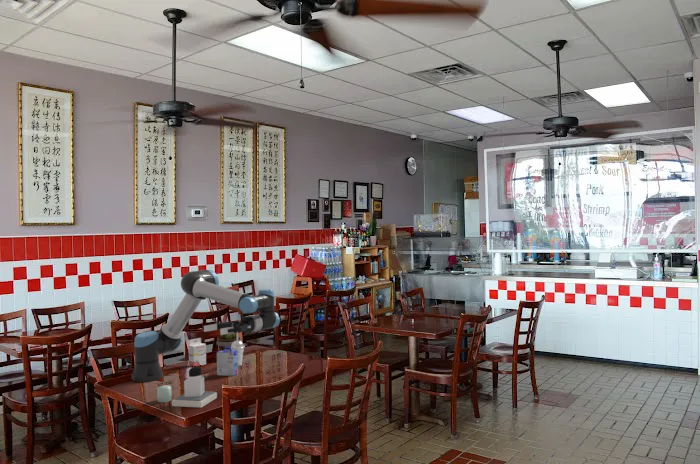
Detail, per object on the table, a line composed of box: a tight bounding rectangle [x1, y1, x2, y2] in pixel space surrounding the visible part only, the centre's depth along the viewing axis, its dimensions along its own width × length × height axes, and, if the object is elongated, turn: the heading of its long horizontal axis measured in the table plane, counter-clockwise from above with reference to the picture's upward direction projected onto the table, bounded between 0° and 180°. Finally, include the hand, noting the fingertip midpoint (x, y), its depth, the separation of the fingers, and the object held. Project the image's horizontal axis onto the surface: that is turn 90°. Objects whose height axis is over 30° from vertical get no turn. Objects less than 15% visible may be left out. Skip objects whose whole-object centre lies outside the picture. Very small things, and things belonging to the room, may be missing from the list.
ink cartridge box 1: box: [188, 337, 207, 367], centre depth 309 cm, size 9×5×15 cm, turn 141°
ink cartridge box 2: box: [216, 346, 239, 377], centre depth 286 cm, size 10×6×14 cm, turn 78°
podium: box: [171, 390, 218, 409], centre depth 240 cm, size 14×14×3 cm
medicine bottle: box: [183, 366, 206, 397], centre depth 240 cm, size 7×7×12 cm
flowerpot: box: [215, 333, 243, 351], centre depth 326 cm, size 14×15×20 cm
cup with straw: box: [231, 332, 246, 367], centre depth 307 cm, size 8×9×20 cm
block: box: [156, 384, 173, 403], centre depth 244 cm, size 6×6×6 cm
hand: (212, 330), depth 247 cm, fingers open, 13 cm apart
